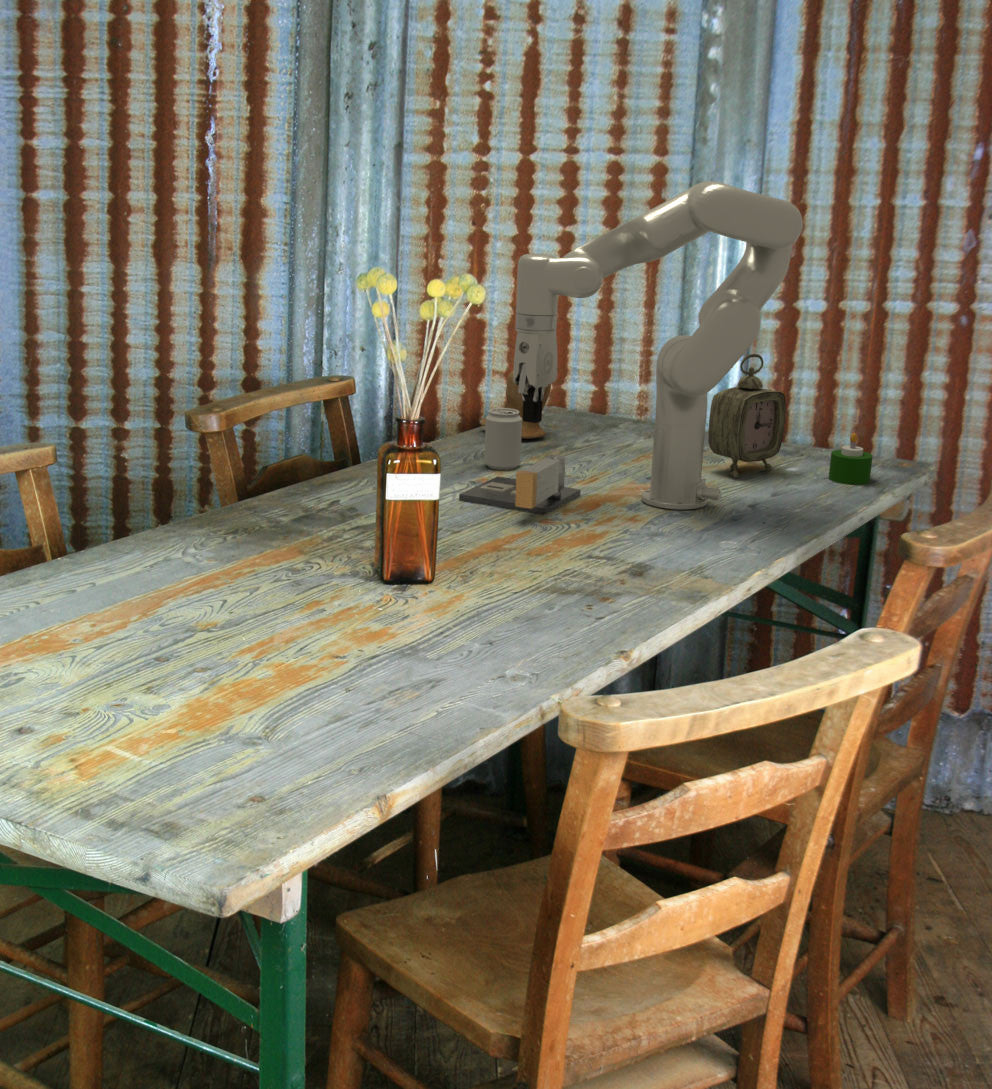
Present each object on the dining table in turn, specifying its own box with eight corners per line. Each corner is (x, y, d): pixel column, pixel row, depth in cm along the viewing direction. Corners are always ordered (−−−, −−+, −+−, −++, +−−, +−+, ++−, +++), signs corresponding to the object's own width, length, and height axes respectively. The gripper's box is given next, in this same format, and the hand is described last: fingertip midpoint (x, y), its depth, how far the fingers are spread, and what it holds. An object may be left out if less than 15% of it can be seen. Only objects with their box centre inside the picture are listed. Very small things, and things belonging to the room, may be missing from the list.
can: (520, 471, 273) (522, 414, 270) (483, 470, 274) (485, 413, 270) (520, 463, 281) (522, 407, 277) (484, 461, 281) (486, 405, 277)
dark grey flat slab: (580, 495, 257) (581, 481, 256) (545, 514, 243) (546, 500, 243) (497, 482, 265) (497, 468, 264) (459, 500, 251) (459, 485, 250)
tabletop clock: (734, 481, 271) (745, 359, 264) (701, 472, 278) (710, 353, 270) (780, 472, 280) (791, 354, 273) (746, 463, 287) (757, 347, 279)
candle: (835, 473, 281) (840, 426, 278) (874, 479, 277) (880, 432, 274) (823, 480, 274) (828, 433, 272) (862, 487, 270) (868, 439, 268)
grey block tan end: (549, 485, 252) (550, 453, 251) (566, 487, 251) (568, 455, 249) (514, 506, 238) (515, 472, 236) (532, 508, 236) (534, 475, 234)
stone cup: (558, 439, 304) (562, 374, 299) (516, 444, 297) (518, 378, 293) (520, 426, 316) (523, 363, 311) (478, 431, 309) (480, 367, 305)
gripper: (537, 329, 235) (533, 431, 241) (571, 320, 248) (566, 417, 254) (499, 325, 238) (496, 426, 244) (535, 316, 251) (531, 412, 257)
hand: (532, 421), depth 249 cm, fingers closed
